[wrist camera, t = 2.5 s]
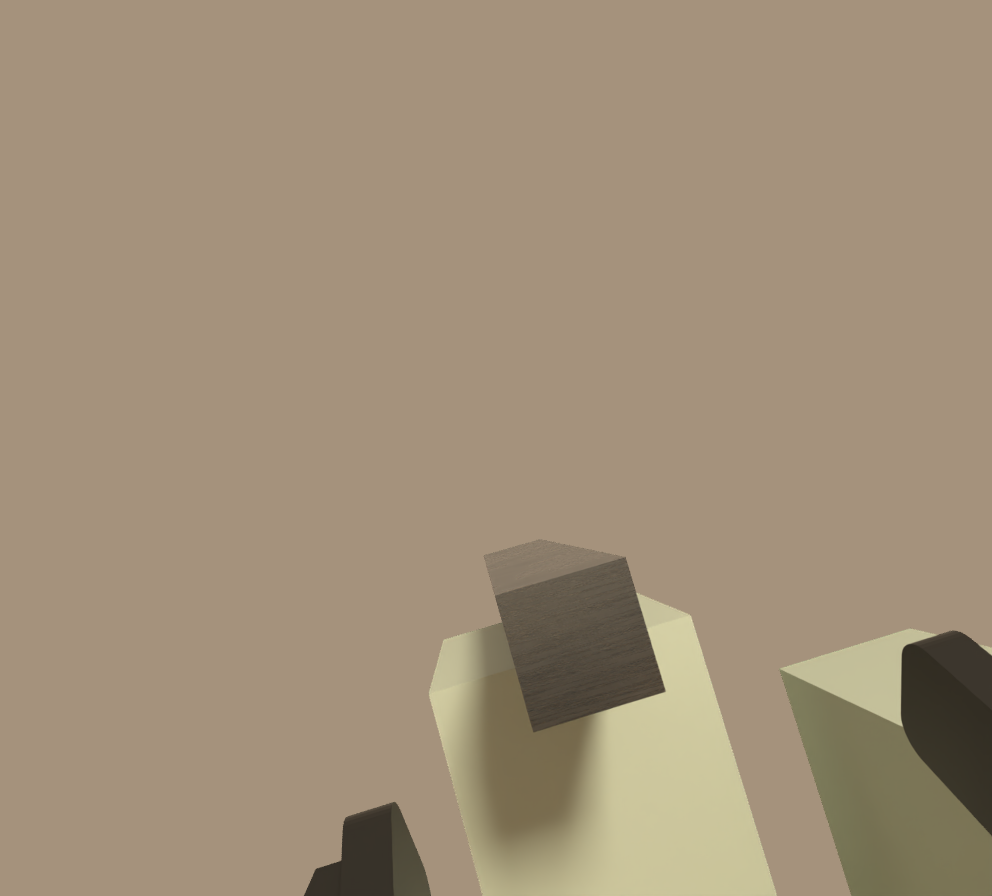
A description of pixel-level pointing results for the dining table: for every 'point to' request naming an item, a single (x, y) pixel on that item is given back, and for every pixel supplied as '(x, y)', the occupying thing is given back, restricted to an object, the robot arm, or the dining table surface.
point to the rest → (883, 778)
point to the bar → (572, 630)
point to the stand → (597, 779)
